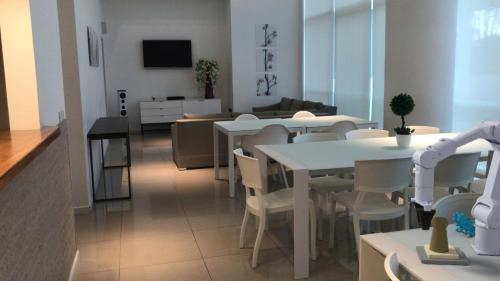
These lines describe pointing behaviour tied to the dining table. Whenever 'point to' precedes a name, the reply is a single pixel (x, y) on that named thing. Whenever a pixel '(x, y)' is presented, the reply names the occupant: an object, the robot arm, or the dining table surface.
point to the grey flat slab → (441, 256)
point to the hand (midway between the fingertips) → (423, 226)
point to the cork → (439, 235)
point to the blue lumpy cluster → (464, 223)
